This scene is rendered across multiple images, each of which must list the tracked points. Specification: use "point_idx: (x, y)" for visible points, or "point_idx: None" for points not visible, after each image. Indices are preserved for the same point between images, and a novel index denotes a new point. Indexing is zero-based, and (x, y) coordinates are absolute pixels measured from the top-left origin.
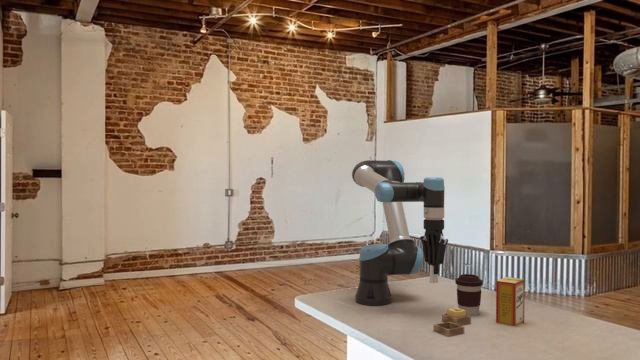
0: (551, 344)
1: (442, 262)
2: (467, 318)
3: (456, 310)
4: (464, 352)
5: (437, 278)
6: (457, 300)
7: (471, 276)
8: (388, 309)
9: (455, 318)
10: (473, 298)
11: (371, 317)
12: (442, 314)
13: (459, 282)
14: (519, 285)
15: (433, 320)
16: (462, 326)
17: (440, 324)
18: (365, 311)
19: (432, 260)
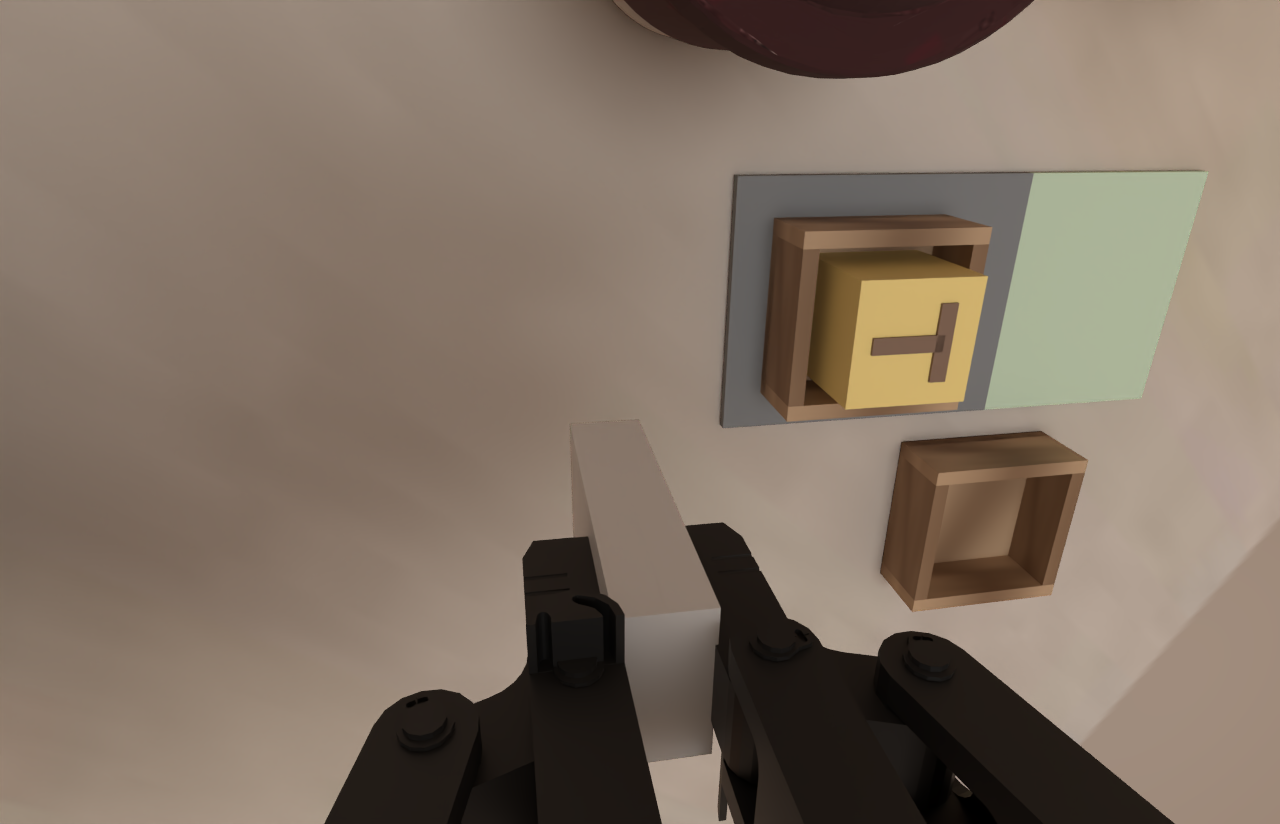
0: None
1: (968, 680)
2: (977, 271)
3: (938, 367)
4: (1179, 601)
5: (652, 460)
6: (642, 12)
7: None
8: (123, 544)
9: None
10: None
11: (339, 757)
12: (790, 417)
13: (854, 76)
14: None
15: (641, 385)
16: (1071, 463)
17: (931, 561)
18: (134, 738)
19: (557, 740)
